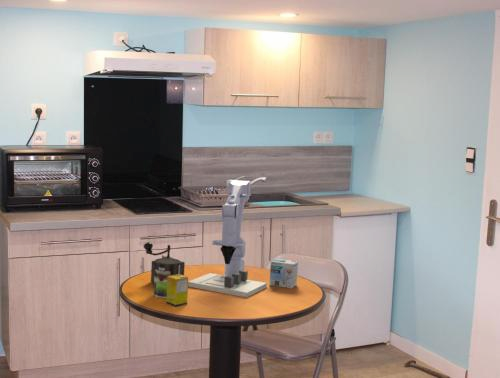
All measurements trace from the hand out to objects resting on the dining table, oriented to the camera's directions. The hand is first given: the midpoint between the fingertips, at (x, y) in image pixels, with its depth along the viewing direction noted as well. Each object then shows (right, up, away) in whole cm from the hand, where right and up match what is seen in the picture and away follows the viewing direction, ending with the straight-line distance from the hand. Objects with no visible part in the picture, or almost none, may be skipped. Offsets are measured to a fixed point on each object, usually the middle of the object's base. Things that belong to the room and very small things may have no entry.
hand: (227, 263), depth 304 cm
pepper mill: (-28, -9, +1) cm, 29 cm away
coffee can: (-24, -11, -16) cm, 31 cm away
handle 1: (+1, -9, -7) cm, 11 cm away
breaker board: (0, -10, +1) cm, 10 cm away
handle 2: (+7, -8, +5) cm, 11 cm away
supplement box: (-19, -13, -28) cm, 36 cm away
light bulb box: (+24, -11, +9) cm, 28 cm away
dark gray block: (+4, -8, -1) cm, 9 cm away
